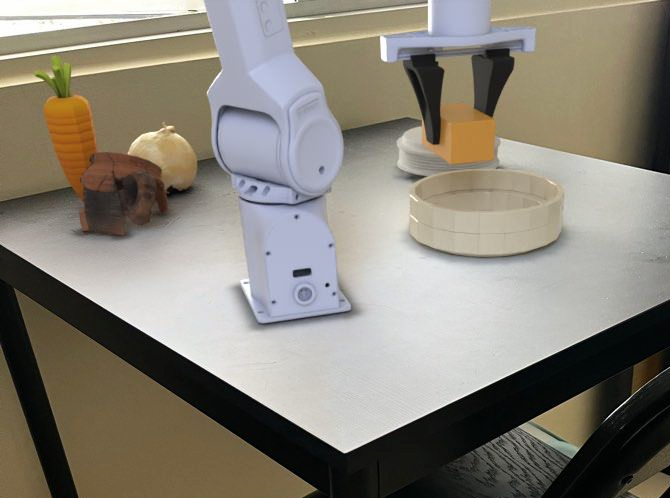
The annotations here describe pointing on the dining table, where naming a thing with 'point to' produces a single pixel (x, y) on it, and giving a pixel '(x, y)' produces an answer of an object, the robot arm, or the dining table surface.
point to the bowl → (486, 211)
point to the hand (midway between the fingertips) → (457, 140)
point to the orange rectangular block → (463, 135)
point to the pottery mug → (120, 192)
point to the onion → (168, 156)
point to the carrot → (69, 125)
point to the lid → (432, 157)
